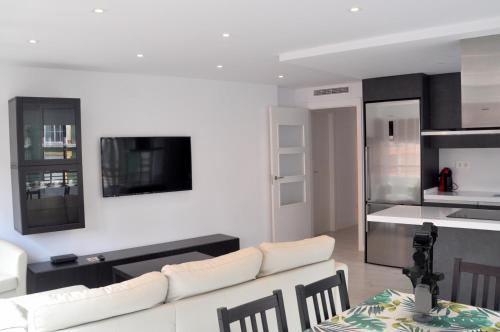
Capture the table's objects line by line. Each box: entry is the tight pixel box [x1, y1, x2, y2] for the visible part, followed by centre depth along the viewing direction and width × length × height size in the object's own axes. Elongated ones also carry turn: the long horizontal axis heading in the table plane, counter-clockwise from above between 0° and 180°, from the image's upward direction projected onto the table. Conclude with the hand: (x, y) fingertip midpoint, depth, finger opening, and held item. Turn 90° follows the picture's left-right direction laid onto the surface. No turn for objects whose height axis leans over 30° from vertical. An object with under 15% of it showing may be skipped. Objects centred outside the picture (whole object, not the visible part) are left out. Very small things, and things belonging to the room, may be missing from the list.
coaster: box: [411, 312, 434, 324], centre depth 228 cm, size 9×9×1 cm
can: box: [414, 283, 433, 314], centre depth 227 cm, size 8×8×12 cm
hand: (422, 291), depth 227 cm, fingers closed on can, 7 cm apart
